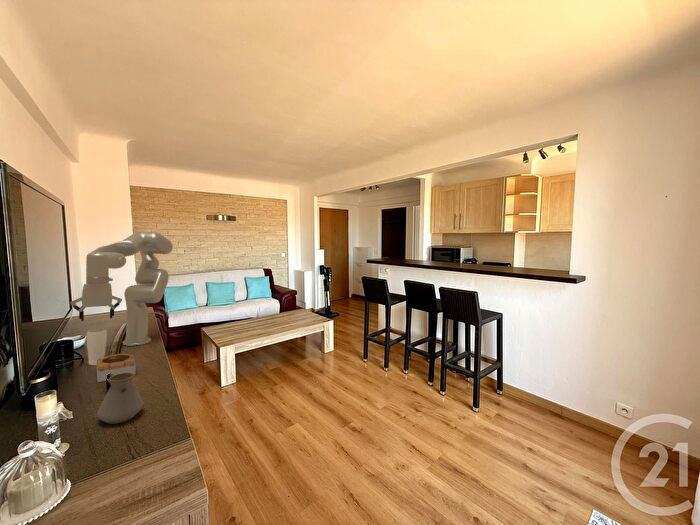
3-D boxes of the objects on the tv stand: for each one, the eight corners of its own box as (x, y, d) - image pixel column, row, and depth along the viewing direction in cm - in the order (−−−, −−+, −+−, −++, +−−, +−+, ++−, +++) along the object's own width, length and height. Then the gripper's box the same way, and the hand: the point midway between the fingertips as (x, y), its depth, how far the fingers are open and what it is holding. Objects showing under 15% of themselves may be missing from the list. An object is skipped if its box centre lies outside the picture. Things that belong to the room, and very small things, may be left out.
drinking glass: (85, 363, 130) (85, 330, 129) (105, 359, 135) (105, 327, 134) (87, 367, 125) (87, 333, 125) (107, 363, 130) (107, 330, 130)
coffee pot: (97, 414, 92) (98, 368, 92) (141, 403, 100) (142, 360, 99) (95, 451, 76) (95, 395, 75) (148, 435, 83) (149, 384, 83)
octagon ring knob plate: (96, 368, 125) (96, 356, 125) (131, 362, 133) (131, 350, 133) (97, 382, 113) (97, 368, 113) (135, 374, 121) (135, 361, 121)
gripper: (121, 279, 137) (121, 315, 138) (70, 280, 125) (70, 319, 126) (123, 281, 131) (122, 318, 132) (70, 282, 120) (69, 323, 120)
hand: (97, 319), depth 129 cm, fingers open, 9 cm apart
